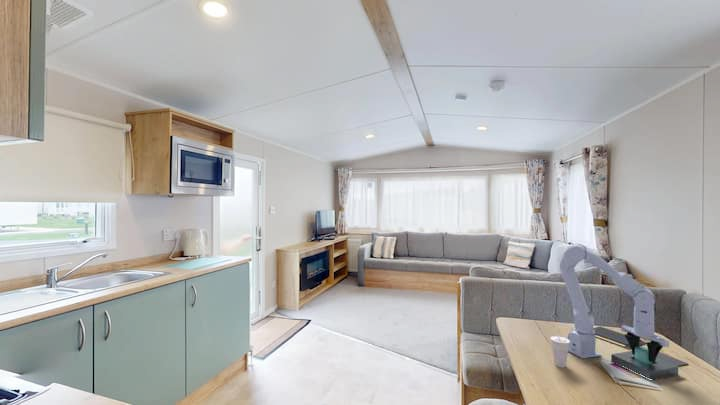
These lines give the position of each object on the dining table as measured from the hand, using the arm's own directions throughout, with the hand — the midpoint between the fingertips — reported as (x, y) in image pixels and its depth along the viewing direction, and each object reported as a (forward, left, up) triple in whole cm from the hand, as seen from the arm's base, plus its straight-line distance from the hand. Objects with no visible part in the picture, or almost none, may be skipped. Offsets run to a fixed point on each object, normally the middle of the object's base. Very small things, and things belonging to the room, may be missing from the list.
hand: (643, 357), depth 118 cm
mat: (+14, +3, -4) cm, 15 cm away
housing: (0, 0, -4) cm, 4 cm away
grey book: (+16, +23, -5) cm, 28 cm away
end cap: (0, 0, -4) cm, 4 cm away
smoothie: (-28, +10, -4) cm, 30 cm away
